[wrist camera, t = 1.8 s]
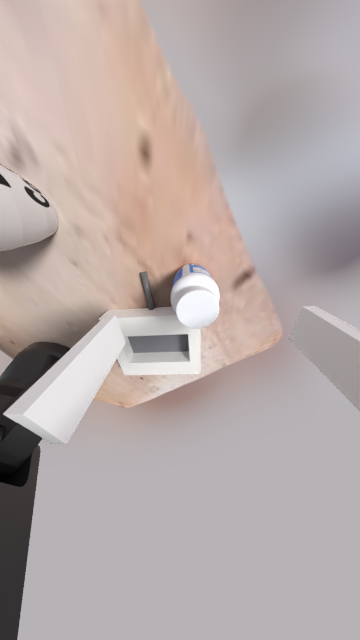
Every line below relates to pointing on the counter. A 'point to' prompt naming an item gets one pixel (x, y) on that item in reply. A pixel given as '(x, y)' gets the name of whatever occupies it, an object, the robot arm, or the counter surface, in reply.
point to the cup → (23, 212)
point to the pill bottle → (195, 296)
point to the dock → (156, 340)
